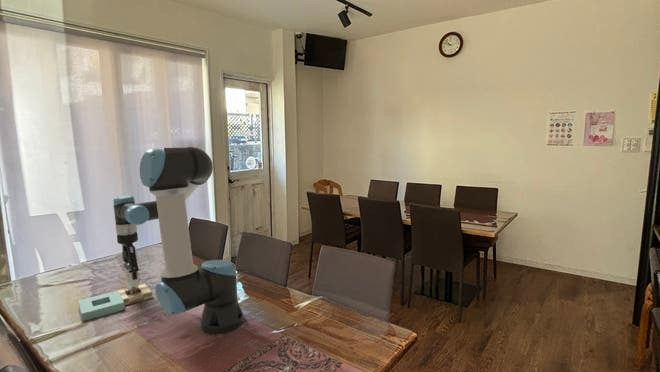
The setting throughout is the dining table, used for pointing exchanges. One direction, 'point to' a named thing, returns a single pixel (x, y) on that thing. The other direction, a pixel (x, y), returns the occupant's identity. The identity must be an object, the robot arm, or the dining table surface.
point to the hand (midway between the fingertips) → (131, 281)
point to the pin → (129, 280)
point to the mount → (136, 294)
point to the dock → (101, 305)
